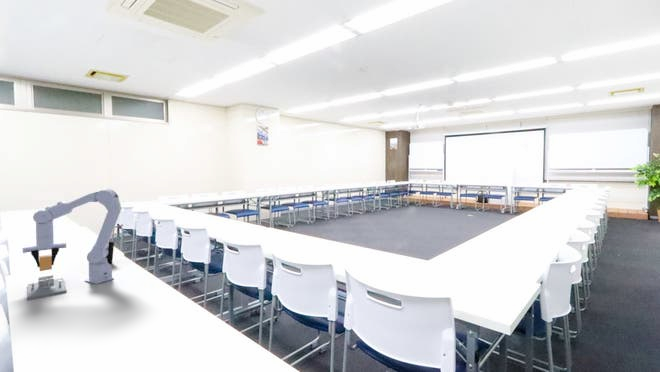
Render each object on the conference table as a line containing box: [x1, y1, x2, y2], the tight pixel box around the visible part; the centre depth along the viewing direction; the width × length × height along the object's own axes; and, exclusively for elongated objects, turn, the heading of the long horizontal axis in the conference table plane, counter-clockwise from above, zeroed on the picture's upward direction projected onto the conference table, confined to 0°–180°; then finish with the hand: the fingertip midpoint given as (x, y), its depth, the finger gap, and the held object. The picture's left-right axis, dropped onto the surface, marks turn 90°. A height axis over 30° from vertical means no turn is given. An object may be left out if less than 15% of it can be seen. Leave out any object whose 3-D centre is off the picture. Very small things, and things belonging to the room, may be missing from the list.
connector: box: [39, 254, 53, 272], centre depth 139 cm, size 4×4×6 cm
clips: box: [31, 280, 61, 289], centre depth 135 cm, size 6×9×2 cm, turn 135°
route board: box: [27, 277, 68, 300], centre depth 135 cm, size 21×12×1 cm, turn 45°
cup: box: [106, 241, 115, 265], centre depth 173 cm, size 8×8×12 cm
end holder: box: [38, 274, 55, 287], centre depth 139 cm, size 7×5×2 cm
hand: (45, 265), depth 139 cm, fingers closed on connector, 4 cm apart
